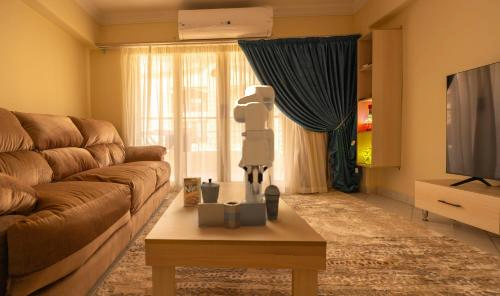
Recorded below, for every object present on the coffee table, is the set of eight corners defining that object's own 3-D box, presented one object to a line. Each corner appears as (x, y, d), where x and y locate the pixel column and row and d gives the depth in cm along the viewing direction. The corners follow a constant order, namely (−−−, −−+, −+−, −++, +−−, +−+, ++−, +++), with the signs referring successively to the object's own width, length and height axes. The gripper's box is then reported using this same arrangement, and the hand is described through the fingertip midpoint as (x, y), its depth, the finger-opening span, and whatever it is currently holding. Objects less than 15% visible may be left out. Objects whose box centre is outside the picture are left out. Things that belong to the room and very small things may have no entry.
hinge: (197, 229, 109) (196, 205, 108) (199, 224, 115) (199, 201, 115) (266, 228, 110) (266, 204, 109) (265, 223, 116) (265, 201, 116)
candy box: (183, 206, 146) (183, 178, 146) (185, 204, 150) (185, 176, 150) (199, 206, 146) (199, 178, 145) (201, 204, 150) (201, 177, 149)
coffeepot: (226, 218, 123) (225, 179, 122) (207, 222, 118) (206, 181, 117) (211, 211, 136) (211, 175, 135) (193, 214, 131) (193, 177, 130)
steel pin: (254, 192, 106) (254, 162, 105) (260, 193, 104) (260, 162, 103) (249, 194, 103) (249, 163, 103) (256, 195, 102) (256, 163, 101)
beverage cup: (276, 222, 117) (276, 176, 116) (261, 220, 120) (261, 175, 119) (282, 218, 123) (282, 174, 122) (268, 216, 127) (268, 173, 126)
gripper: (233, 135, 98) (233, 185, 99) (277, 135, 99) (277, 185, 100) (233, 135, 106) (234, 182, 107) (275, 135, 106) (275, 181, 107)
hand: (255, 183), depth 103 cm, fingers closed on steel pin, 3 cm apart
